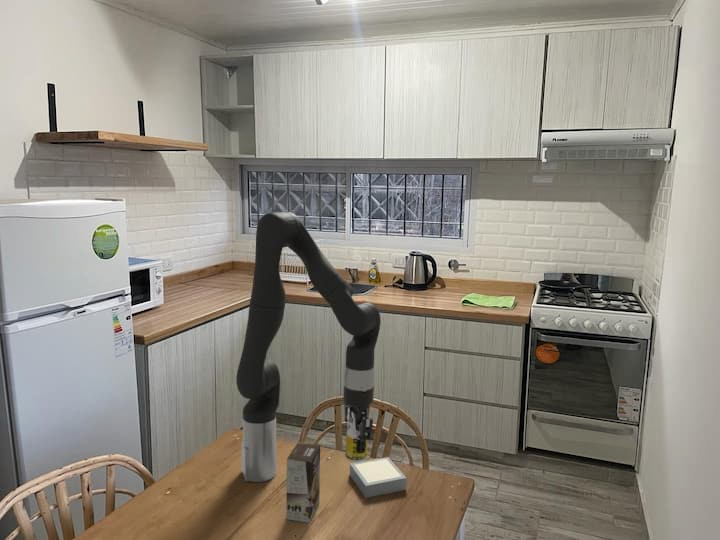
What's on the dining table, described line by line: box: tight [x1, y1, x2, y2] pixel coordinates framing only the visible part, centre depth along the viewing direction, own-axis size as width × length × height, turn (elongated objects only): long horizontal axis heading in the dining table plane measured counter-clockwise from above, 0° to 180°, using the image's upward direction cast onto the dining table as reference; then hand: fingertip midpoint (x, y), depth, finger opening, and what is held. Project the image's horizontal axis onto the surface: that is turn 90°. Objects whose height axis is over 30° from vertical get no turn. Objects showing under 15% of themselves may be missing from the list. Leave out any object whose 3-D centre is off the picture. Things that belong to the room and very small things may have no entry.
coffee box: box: [285, 442, 321, 524], centre depth 135 cm, size 9×6×16 cm
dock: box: [349, 456, 407, 499], centre depth 150 cm, size 12×12×4 cm
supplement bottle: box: [345, 420, 368, 463], centre depth 136 cm, size 5×5×10 cm
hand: (356, 446), depth 136 cm, fingers closed on supplement bottle, 5 cm apart
